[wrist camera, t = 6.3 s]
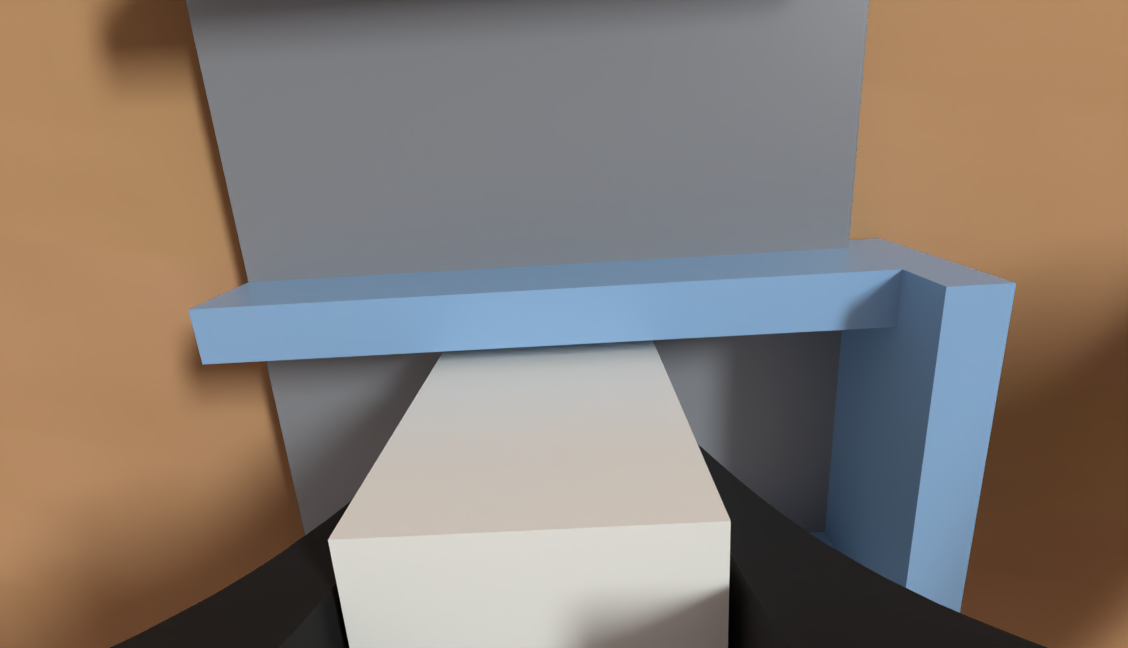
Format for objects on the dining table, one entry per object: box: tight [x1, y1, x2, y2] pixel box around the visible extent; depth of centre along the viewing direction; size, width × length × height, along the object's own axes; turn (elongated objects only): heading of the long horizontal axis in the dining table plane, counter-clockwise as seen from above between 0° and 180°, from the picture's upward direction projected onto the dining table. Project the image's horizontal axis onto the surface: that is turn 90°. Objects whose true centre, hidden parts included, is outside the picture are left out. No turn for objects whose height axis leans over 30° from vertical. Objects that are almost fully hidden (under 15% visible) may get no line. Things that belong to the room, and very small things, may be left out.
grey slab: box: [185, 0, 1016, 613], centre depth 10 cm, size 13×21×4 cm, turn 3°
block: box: [328, 340, 731, 648], centre depth 9 cm, size 4×4×6 cm
